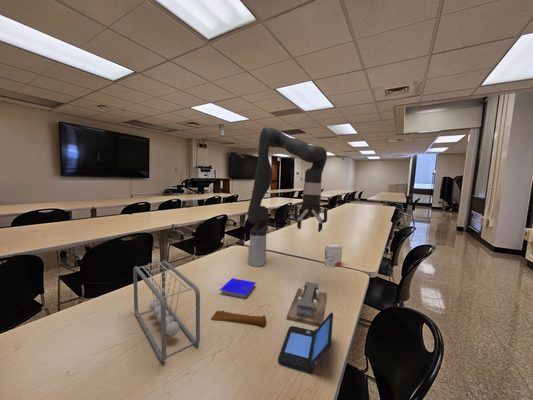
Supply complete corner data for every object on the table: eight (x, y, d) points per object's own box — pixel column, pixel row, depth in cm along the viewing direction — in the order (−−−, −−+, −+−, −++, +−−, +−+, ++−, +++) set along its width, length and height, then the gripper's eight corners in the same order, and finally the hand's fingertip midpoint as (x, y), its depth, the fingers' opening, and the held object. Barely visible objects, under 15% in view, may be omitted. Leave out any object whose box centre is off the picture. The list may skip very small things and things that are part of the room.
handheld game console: (289, 329, 75) (290, 302, 75) (331, 339, 71) (333, 310, 70) (276, 365, 61) (277, 332, 60) (328, 380, 56) (331, 345, 56)
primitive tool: (210, 320, 79) (210, 311, 78) (216, 312, 84) (216, 302, 84) (264, 330, 75) (265, 319, 75) (268, 320, 80) (268, 310, 80)
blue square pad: (219, 295, 96) (219, 282, 95) (231, 283, 107) (232, 271, 107) (246, 300, 92) (246, 287, 92) (256, 287, 104) (256, 275, 103)
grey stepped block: (296, 315, 81) (297, 304, 80) (305, 290, 99) (305, 281, 98) (312, 318, 79) (313, 307, 79) (318, 293, 97) (319, 283, 97)
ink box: (337, 263, 136) (338, 243, 135) (341, 266, 131) (342, 246, 130) (323, 263, 134) (324, 244, 133) (327, 267, 130) (328, 246, 128)
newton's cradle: (134, 313, 81) (132, 264, 79) (164, 303, 88) (164, 258, 86) (162, 366, 59) (161, 300, 57) (200, 347, 66) (200, 288, 64)
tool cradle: (286, 319, 80) (287, 305, 80) (298, 290, 101) (298, 279, 100) (321, 327, 76) (322, 312, 76) (326, 295, 97) (326, 284, 97)
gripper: (293, 192, 97) (291, 230, 99) (328, 195, 92) (325, 234, 94) (297, 191, 104) (295, 226, 106) (329, 194, 99) (326, 230, 101)
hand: (309, 230), depth 100 cm, fingers open, 8 cm apart
